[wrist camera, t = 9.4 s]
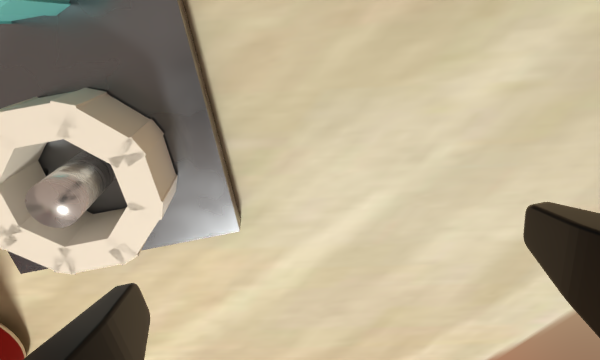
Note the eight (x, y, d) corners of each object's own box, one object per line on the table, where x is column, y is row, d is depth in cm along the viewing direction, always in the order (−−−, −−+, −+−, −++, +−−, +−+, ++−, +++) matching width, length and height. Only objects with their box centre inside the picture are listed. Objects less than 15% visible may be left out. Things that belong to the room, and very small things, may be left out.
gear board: (91, -339, 12) (-50, -640, 7) (240, 220, 21) (233, 292, 16) (-270, -282, 12) (-732, -546, 7) (33, 260, 21) (-51, 348, 15)
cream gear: (145, 76, 17) (122, 87, 14) (192, 221, 20) (181, 253, 17) (-24, 107, 16) (-82, 125, 14) (50, 248, 19) (15, 286, 17)
